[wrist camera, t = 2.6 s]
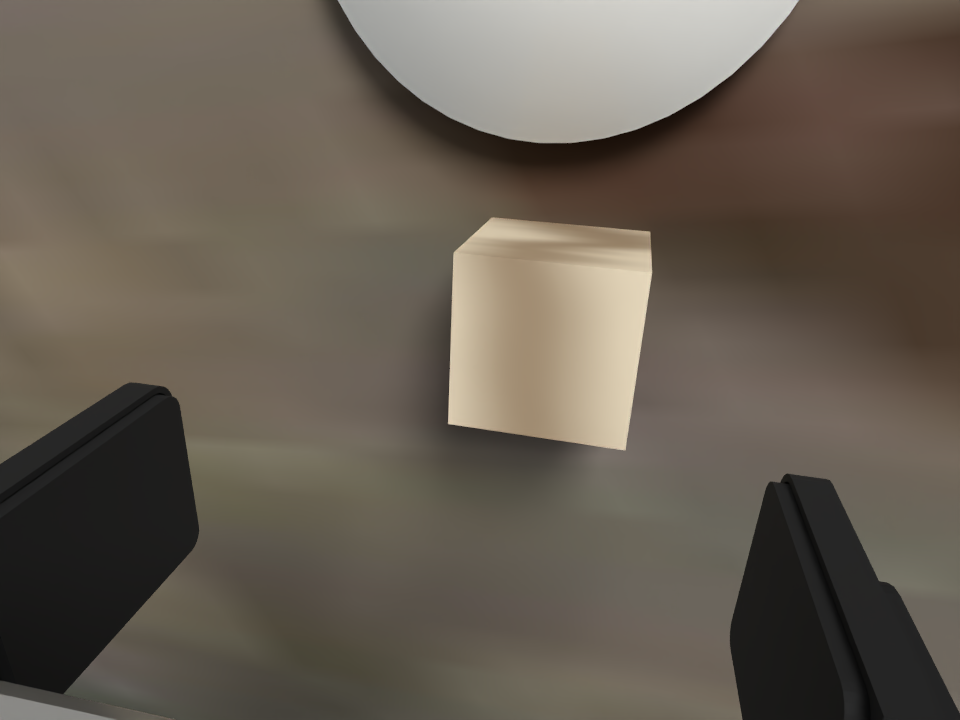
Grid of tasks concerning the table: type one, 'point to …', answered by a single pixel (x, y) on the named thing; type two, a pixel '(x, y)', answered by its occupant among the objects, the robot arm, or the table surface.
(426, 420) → the table surface
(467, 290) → the maple block
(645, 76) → the ceramic dish
